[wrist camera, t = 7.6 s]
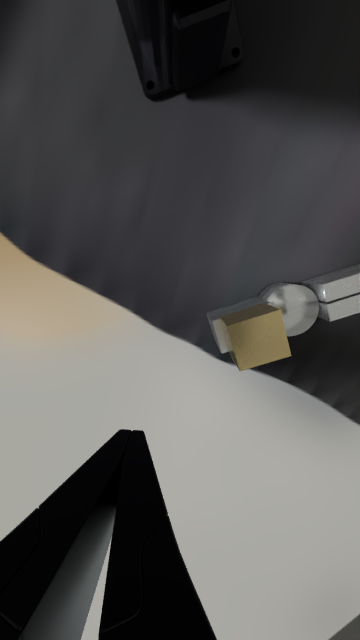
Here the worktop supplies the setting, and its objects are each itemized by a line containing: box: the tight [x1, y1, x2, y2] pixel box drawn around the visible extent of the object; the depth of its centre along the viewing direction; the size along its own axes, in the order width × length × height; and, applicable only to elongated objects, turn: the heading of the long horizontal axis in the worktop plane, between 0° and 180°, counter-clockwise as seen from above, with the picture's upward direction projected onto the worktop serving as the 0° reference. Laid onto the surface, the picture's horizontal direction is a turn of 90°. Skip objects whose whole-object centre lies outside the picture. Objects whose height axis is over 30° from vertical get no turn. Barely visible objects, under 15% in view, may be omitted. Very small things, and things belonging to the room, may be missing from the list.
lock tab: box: [219, 303, 291, 371], centre depth 14 cm, size 3×3×2 cm
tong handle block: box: [207, 282, 319, 353], centre depth 17 cm, size 7×4×3 cm, turn 108°
